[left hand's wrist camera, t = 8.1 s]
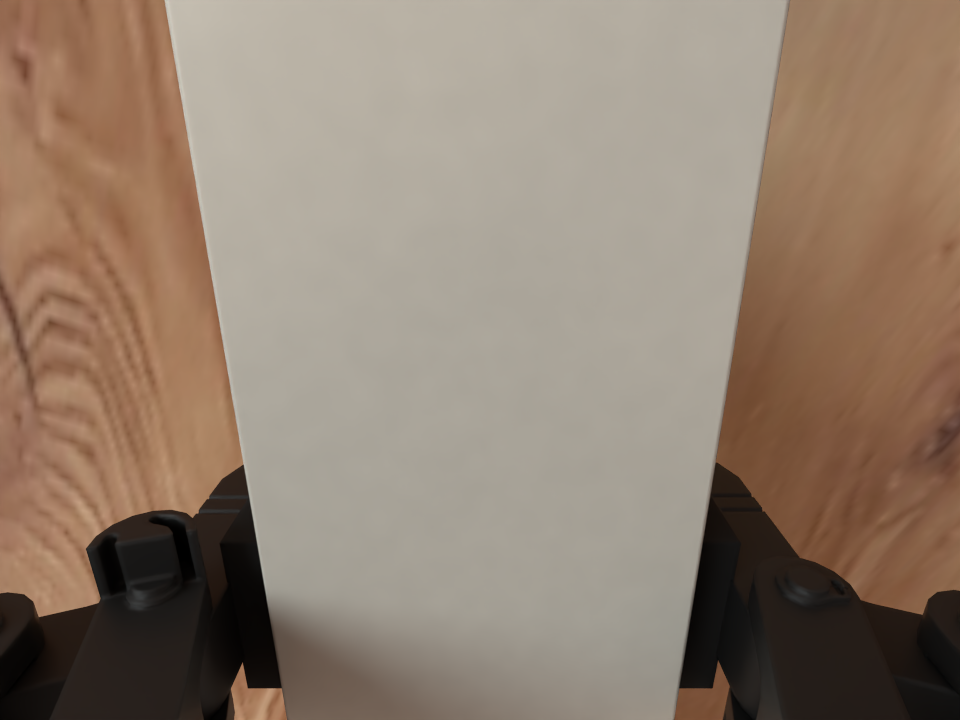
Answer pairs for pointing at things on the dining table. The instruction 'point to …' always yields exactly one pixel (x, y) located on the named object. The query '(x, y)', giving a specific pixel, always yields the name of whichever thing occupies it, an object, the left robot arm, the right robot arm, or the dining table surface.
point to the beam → (478, 331)
